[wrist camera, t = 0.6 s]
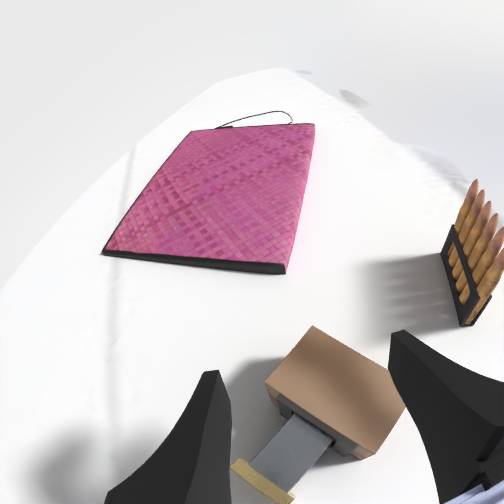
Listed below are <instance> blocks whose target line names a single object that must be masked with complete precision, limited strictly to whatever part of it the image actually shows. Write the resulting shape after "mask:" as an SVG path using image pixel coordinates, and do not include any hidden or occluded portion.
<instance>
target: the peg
mask: <svg viewBox="0 0 504 504" xmlns="http://www.w3.org/2000/svg"><path fill="white" fill-rule="evenodd" d="M333 440H334V438H332V437H331V436H329V435H327V434H326V433H324V432H323V431H321V430H320V429H318V428H317V427H315V426H314V425H312V424H311V423H309V422H308V421H306V420H305V419H303V418H302V417H300V416H299V415H297V414H296V413H294V414H293V416H292V417H291V418H290V419H289V420H288V421H287V423H286V424H285V425H284V426H283V427H282V428H281V429H280V431H279V432H278V433H277V434H276V435H275V436H274V437H273V438H272V439H271V441H270V442H269V443H268V444H267V445H266V446H265V447H264V448H263V449H262V450H261V451H260V452H259V453H258V455H257V456H256V457H255V458H254V459H253V460H252V461H251V462H247V461H245V460H243V459H241V458H238V459H237V460H236V461H235V462H234V463H233V464H232V465H231V466H230V468H231V469H232V470H233V471H235V472H236V473H237V474H238V475H240V476H241V477H242V478H243V479H245V480H246V481H247V482H248V483H250V484H251V485H252V486H254V487H255V488H256V489H258V490H259V491H260V492H262V493H263V494H264V495H266V496H267V497H268V498H270V499H271V500H273V501H274V502H275V503H277V504H290V503H291V502H292V501H293V500H294V499H295V497H296V496H295V495H294V494H292V493H291V492H289V491H290V490H291V489H292V488H293V487H294V486H295V485H296V484H297V483H298V481H299V480H300V479H301V478H302V477H303V476H304V475H305V474H306V473H307V471H308V470H309V469H310V468H311V467H312V466H313V464H314V463H315V462H316V461H317V460H318V459H319V457H320V456H321V455H322V454H323V453H324V451H325V450H326V449H327V448H328V446H329V445H330V444H331V443H332V441H333Z"/></svg>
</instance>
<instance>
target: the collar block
mask: <svg viewBox="0 0 504 504" xmlns="http://www.w3.org/2000/svg"><path fill="white" fill-rule="evenodd" d="M265 384H266V387H267V390H268V392H269V395H270V398H271V401H272V402H274V403H275V404H276V405H278V406H279V410H280V413H281V415H282V416H284V417H285V418H287V419H288V420H289V419H290V418H291V417H292V416H293V414H294V413H296V414H297V415H299V416H300V417H302V418H303V419H305V420H306V421H308V422H309V423H311V424H312V425H314V426H315V427H317V428H318V429H320V430H321V431H323V432H324V433H326V434H327V435H329V436H331V437H332V438H334V440H333V441H332V443H331V444H330V445H329V446H328V447H330V448H331V449H333V450H334V451H336V452H338V453H339V454H341V455H342V456H345V455H347V454H348V453H350V454H352V455H353V456H355V457H357V458H358V459H360V460H363V459H365V458H367V457H370V456H372V455H374V454H376V452H377V451H378V449H379V448H380V446H381V445H382V444H383V442H384V441H385V439H386V438H387V436H388V435H389V433H390V432H391V430H392V428H393V427H394V425H395V424H396V422H397V421H398V419H399V417H400V416H401V414H402V412H403V411H404V409H405V407H406V406H405V404H404V402H403V400H402V398H401V397H400V395H399V393H398V391H397V389H396V387H395V385H394V383H393V380H392V378H391V375H390V372H389V370H387V369H385V368H384V367H382V366H380V365H378V364H377V363H375V362H373V361H372V360H370V359H368V358H366V357H365V356H363V355H361V354H360V353H358V352H356V351H354V350H353V349H351V348H349V347H348V346H346V345H344V344H343V343H341V342H339V341H337V340H336V339H334V338H332V337H331V336H329V335H327V334H326V333H324V332H322V331H321V330H319V329H317V328H316V327H314V326H311V328H310V329H309V330H308V331H307V333H306V334H305V335H304V336H303V337H302V339H301V340H300V341H299V342H298V343H297V345H296V346H295V347H294V348H293V349H292V351H291V352H290V353H289V354H288V355H287V356H286V358H285V359H284V360H283V361H282V362H281V363H280V364H279V366H278V367H277V368H276V369H275V370H274V371H273V372H272V374H271V375H270V376H269V377H268V378H267V379H266V380H265Z"/></svg>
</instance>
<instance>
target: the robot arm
mask: <svg viewBox="0 0 504 504" xmlns="http://www.w3.org/2000/svg"><path fill="white" fill-rule="evenodd" d="M388 370H389V372H390V375H391V378H392V380H393V383H394V385H395V387H396V389H397V391H398V393H399V395H400V397H401V398H402V400H403V402H404V404H405V406H406V407H407V409H408V411H409V413H410V415H411V417H412V418H413V420H414V422H415V424H416V426H417V428H418V430H419V432H420V435H421V438H422V440H423V443H424V446H425V449H426V452H427V455H428V458H429V461H430V464H431V468H432V471H433V475H434V479H435V483H436V487H437V492H438V497H439V503H440V504H504V382H501V381H497V380H494V379H491V378H488V377H485V376H483V375H480V374H478V373H475V372H473V371H471V370H469V369H467V368H465V367H463V366H461V365H459V364H457V363H455V362H453V361H452V360H450V359H448V358H446V357H445V356H443V355H441V354H440V353H438V352H437V351H435V350H434V349H432V348H430V347H429V346H427V345H426V344H425V343H423V342H422V341H420V340H419V339H417V338H416V337H414V336H413V335H411V334H410V333H408V332H407V331H405V330H401V331H398V332H395V333H391V343H390V353H389V362H388ZM231 429H232V418H231V404H230V399H229V397H228V394H227V391H226V389H225V386H224V383H223V380H222V378H221V375H220V372H219V370H213V371H206V372H204V373H203V374H202V376H201V378H200V380H199V383H198V385H197V387H196V389H195V391H194V393H193V395H192V397H191V399H190V401H189V403H188V404H187V406H186V408H185V410H184V412H183V413H182V415H181V417H180V418H179V420H178V421H177V423H176V425H175V426H174V428H173V429H172V431H171V432H170V434H169V435H168V436H167V438H166V439H165V440H164V441H163V443H162V444H161V445H160V446H159V448H158V449H157V450H156V451H155V452H154V453H153V454H152V456H151V457H150V458H149V459H148V460H147V461H146V462H145V463H144V464H143V465H142V466H141V467H139V468H138V469H137V470H136V471H135V472H134V473H133V474H132V475H131V476H129V477H128V478H127V479H126V480H124V481H123V482H122V483H120V484H119V485H117V486H116V487H115V488H113V489H112V490H110V491H109V492H108V493H107V496H106V499H105V503H104V504H231V493H230V478H229V464H230V447H231Z"/></svg>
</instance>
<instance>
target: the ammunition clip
mask: <svg viewBox="0 0 504 504" xmlns="http://www.w3.org/2000/svg"><path fill="white" fill-rule="evenodd" d="M477 193H478V180H477V179H476V180H475V181H474V182H473V183H472V185H471V186H470V188H469V191H468V193H467V196H466V198H465V200H464V203H463V205H462V207H461V209H460V211H459V214H458V217H457V219H456V222H455V225H452V226H451V228H450V231H449V234H448V236H447V239H446V241H445V244H444V246H443V248H442V251H441V257H442V260H443V263H444V266H445V270H446V273H447V277H448V280H449V284H450V287H451V291H452V295H453V299H454V303H455V307H456V311H457V315H458V320H459V324H460V326H461V327H462V326H473V325H474V324H475V322H476V321H477V319H478V318H479V316H480V315H481V313H482V312H483V310H484V309H485V307H486V306H487V304H488V303H489V301H490V300H491V298H492V295H491V293H492V292H493V290H494V289H495V287H496V285H497V284H498V282H499V280H500V278H501V275H502V273H503V271H504V248H503V249H502V251H501V252H500V253H499V251H500V249H501V247H502V244H503V241H504V227H502V228H501V229H500V230H499V231H498V232H497V233H496V235H495V236H494V234H495V231H496V228H497V224H498V213H496V214H494V215H493V216H492V217H491V219H490V220H489V217H490V213H491V201H488V202H487V203H486V204H485V206H484V207H483V205H484V199H485V192H484V190H481V191H480V192H479V194H478V195H477ZM482 208H483V209H482ZM488 220H489V222H488ZM493 236H494V238H493ZM498 253H499V255H498ZM497 256H498V257H497Z"/></svg>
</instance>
